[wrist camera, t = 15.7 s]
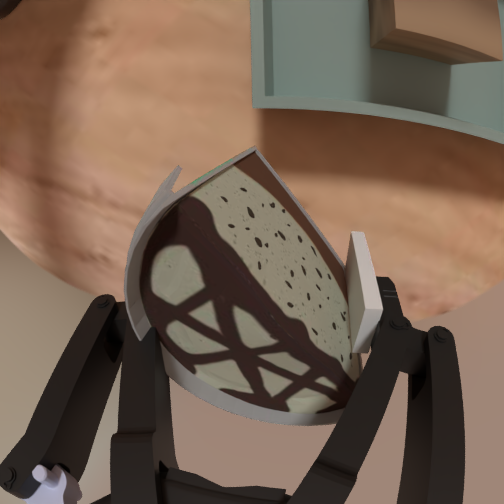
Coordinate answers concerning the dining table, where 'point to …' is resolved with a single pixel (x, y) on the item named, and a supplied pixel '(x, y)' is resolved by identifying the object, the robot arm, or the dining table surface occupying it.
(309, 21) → the tote
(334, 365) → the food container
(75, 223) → the dining table surface
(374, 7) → the walnut block
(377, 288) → the robot arm
